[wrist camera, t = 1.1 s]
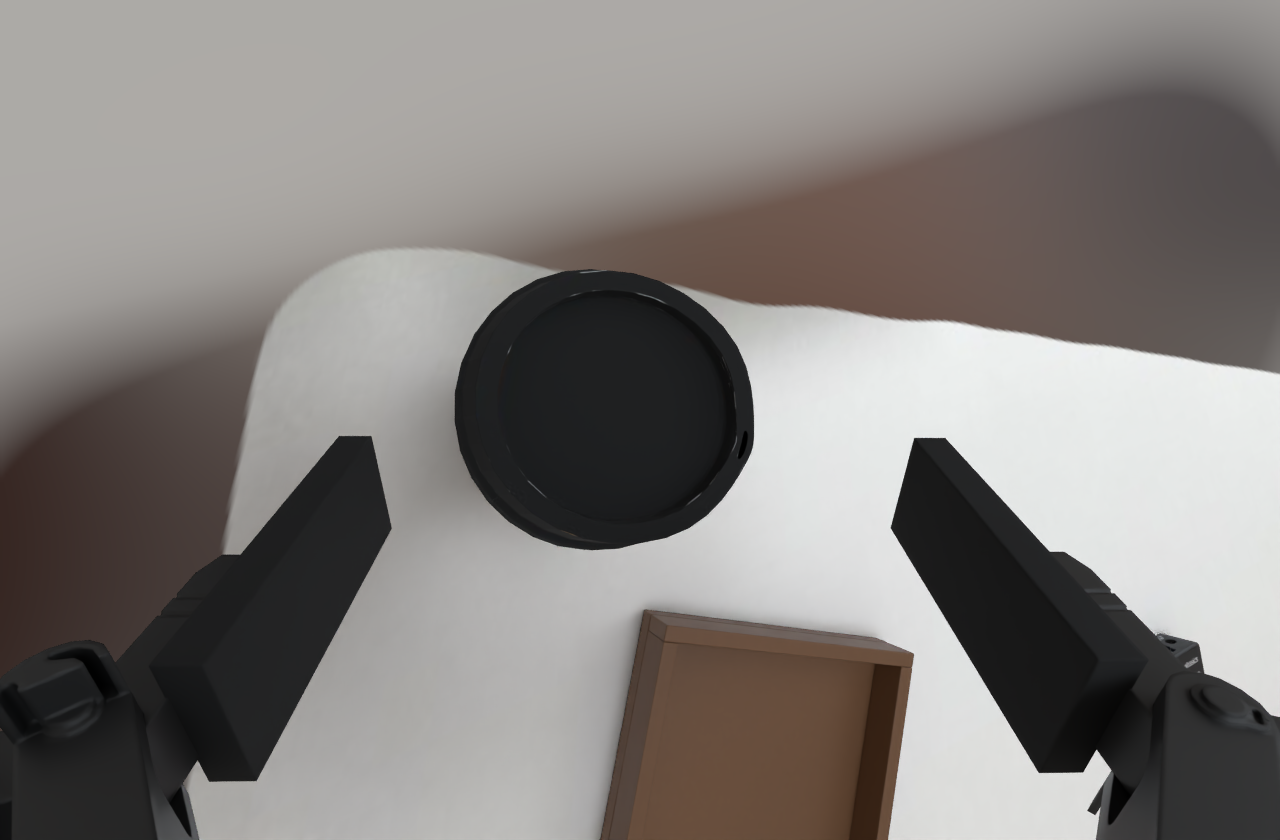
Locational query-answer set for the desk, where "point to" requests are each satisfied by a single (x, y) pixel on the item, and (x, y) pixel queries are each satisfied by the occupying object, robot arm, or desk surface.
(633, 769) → the tray
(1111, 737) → the robot arm
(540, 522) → the coffee cup
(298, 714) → the desk surface
